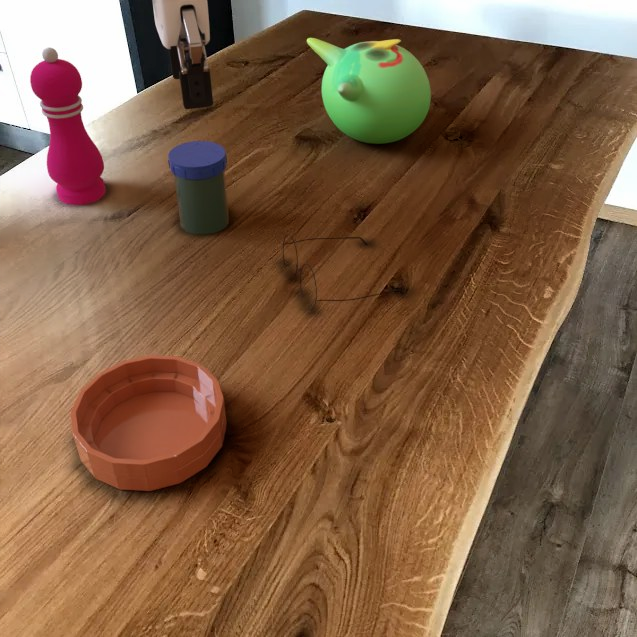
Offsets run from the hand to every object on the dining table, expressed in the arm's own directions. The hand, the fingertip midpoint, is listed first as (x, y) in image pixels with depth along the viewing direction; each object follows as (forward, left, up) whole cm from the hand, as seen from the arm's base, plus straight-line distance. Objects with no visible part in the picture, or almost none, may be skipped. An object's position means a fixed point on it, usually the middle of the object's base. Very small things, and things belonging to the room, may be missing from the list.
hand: (192, 90), depth 83 cm
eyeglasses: (+18, -11, -18) cm, 27 cm away
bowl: (+2, -36, -18) cm, 40 cm away
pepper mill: (-18, +6, -18) cm, 26 cm away
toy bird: (+21, +27, -18) cm, 38 cm away
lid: (0, 0, -8) cm, 8 cm away
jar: (0, 0, -18) cm, 18 cm away
